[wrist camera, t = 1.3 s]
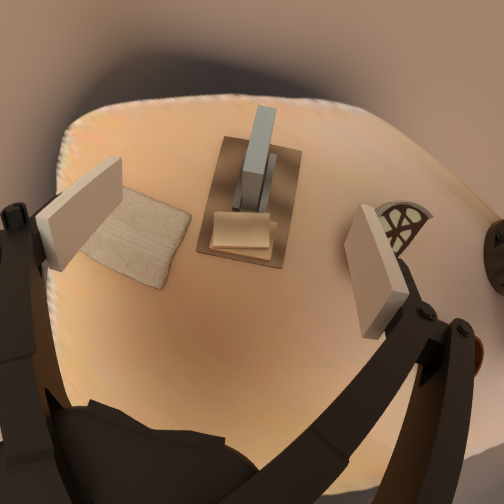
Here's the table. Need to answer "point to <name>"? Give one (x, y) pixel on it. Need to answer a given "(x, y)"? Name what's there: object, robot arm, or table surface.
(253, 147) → the tall panel
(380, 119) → the table surface
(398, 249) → the food container
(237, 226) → the offcut stack
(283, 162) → the brown rectangular board
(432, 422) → the robot arm
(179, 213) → the washcloth
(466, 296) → the table surface
